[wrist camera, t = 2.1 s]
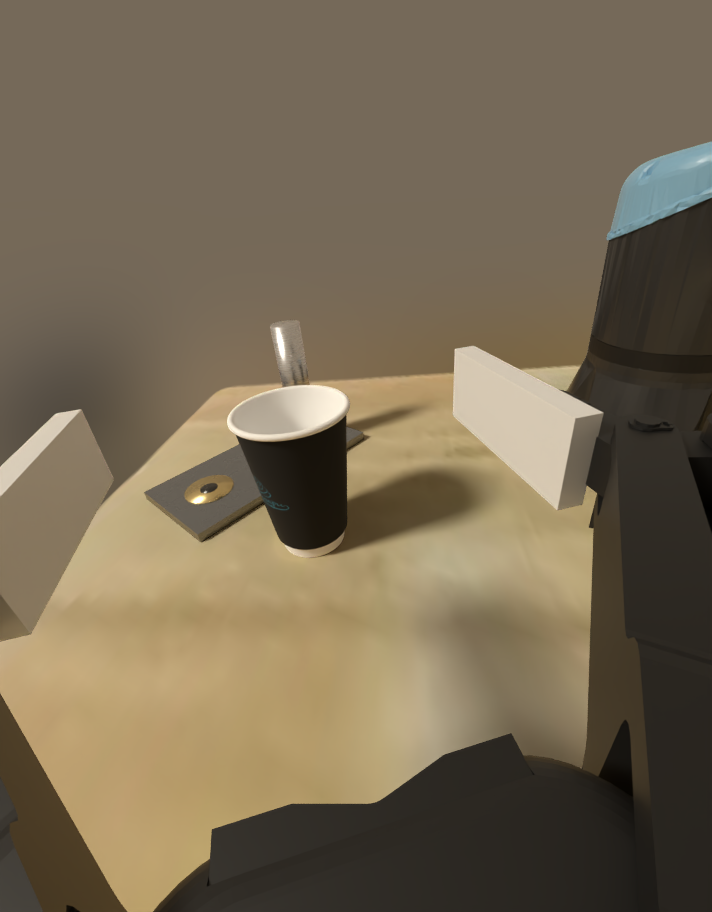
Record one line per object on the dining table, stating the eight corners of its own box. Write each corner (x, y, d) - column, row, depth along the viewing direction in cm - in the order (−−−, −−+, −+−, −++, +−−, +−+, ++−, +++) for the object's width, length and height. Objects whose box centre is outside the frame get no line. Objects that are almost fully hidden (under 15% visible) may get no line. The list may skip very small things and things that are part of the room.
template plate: (303, 418, 51) (302, 411, 50) (363, 438, 45) (363, 431, 44) (147, 499, 39) (143, 491, 38) (200, 542, 33) (197, 533, 32)
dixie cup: (244, 565, 30) (200, 433, 24) (289, 499, 36) (263, 383, 31) (346, 582, 28) (324, 440, 22) (376, 509, 34) (364, 384, 28)
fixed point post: (306, 424, 47) (287, 317, 41) (328, 432, 45) (311, 320, 39) (282, 437, 45) (258, 327, 39) (303, 446, 43) (281, 330, 37)
